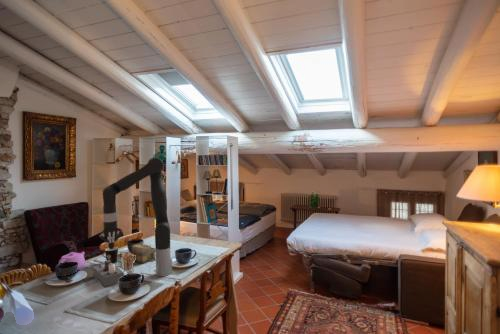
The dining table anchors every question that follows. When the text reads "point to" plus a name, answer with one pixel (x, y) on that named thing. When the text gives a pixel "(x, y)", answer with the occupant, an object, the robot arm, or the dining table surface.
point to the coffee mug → (111, 254)
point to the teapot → (74, 259)
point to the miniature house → (143, 253)
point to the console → (107, 276)
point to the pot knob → (107, 265)
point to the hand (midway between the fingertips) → (111, 248)
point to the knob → (111, 269)
